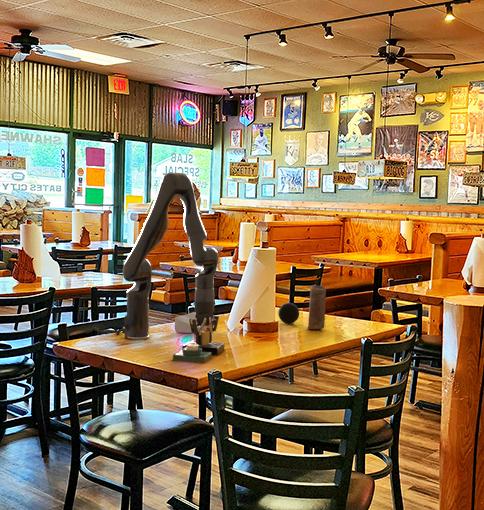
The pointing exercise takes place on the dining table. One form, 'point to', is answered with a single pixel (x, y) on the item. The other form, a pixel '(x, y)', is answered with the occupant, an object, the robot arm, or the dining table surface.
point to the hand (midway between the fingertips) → (203, 343)
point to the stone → (184, 323)
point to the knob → (205, 337)
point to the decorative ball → (288, 313)
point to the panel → (209, 347)
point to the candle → (317, 307)
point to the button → (192, 347)
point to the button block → (192, 356)
